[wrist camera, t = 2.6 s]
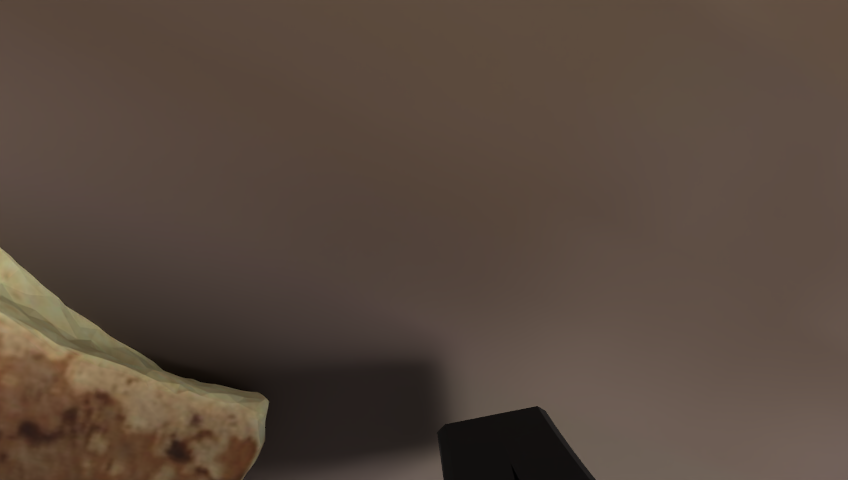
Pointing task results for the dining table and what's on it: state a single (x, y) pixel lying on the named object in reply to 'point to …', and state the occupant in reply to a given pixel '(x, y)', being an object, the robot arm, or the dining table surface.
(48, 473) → the shard
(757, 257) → the dining table surface
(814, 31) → the dining table surface
